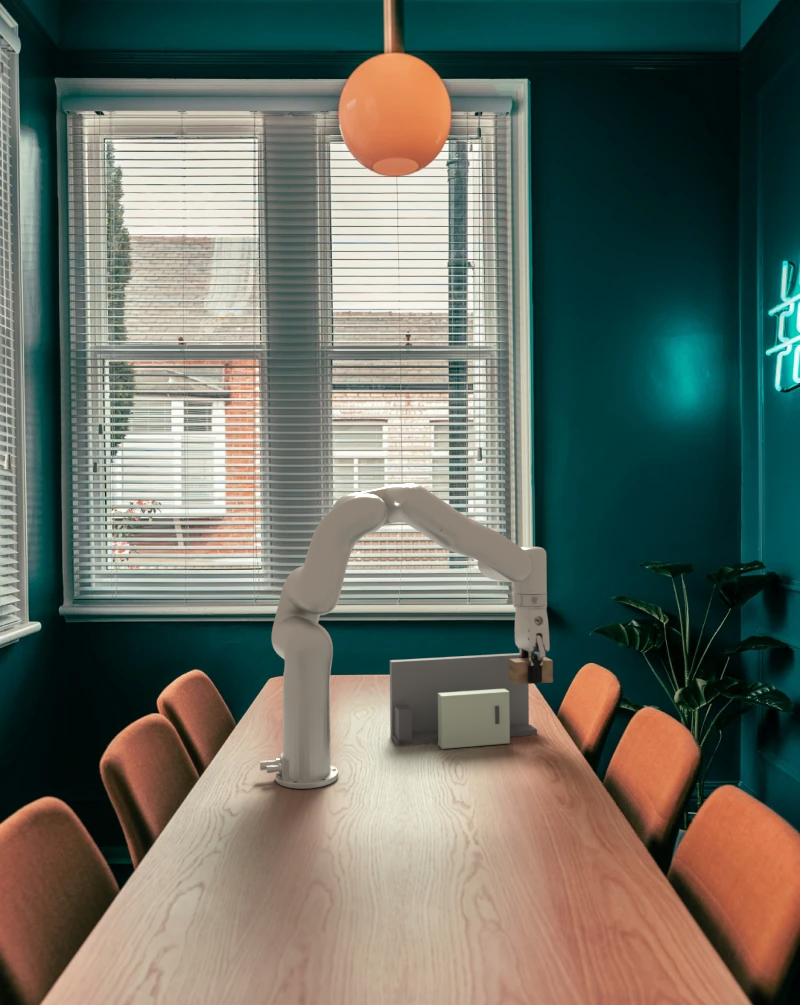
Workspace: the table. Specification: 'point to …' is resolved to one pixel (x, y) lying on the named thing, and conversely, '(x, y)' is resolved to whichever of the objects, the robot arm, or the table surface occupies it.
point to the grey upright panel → (430, 676)
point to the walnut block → (520, 670)
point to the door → (473, 718)
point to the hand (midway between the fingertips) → (530, 679)
